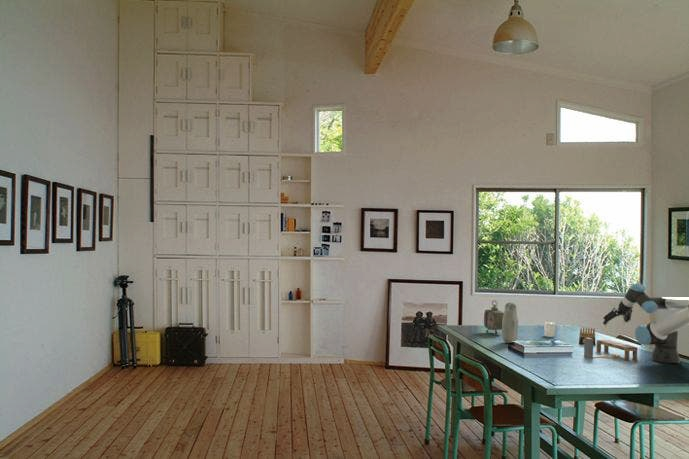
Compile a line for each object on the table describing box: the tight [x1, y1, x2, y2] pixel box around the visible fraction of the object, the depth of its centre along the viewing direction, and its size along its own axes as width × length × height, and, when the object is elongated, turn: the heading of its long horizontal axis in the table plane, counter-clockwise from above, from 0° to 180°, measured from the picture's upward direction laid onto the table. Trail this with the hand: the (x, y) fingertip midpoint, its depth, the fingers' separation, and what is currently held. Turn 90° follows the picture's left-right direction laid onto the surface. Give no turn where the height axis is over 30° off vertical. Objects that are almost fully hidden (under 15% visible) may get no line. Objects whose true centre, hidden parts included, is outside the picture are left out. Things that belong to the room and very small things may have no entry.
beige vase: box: [501, 302, 519, 344], centre depth 355 cm, size 10×10×28 cm
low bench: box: [595, 339, 638, 362], centre depth 325 cm, size 24×8×8 cm, turn 18°
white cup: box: [543, 321, 557, 338], centre depth 387 cm, size 8×8×10 cm
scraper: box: [583, 338, 614, 360], centre depth 321 cm, size 18×6×12 cm, turn 108°
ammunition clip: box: [578, 326, 596, 346], centre depth 360 cm, size 11×2×12 cm, turn 87°
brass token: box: [611, 353, 621, 358], centre depth 325 cm, size 4×4×1 cm
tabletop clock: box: [483, 300, 504, 336], centre depth 390 cm, size 14×9×25 cm, turn 17°
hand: (610, 327), depth 340 cm, fingers open, 13 cm apart
